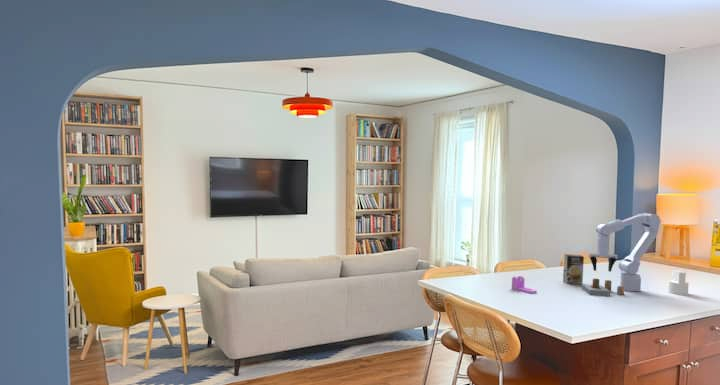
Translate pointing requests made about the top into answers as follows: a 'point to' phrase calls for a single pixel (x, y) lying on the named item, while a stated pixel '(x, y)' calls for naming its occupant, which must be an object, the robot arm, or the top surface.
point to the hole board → (595, 290)
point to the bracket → (521, 285)
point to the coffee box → (573, 269)
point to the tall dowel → (595, 283)
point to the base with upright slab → (678, 283)
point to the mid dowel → (608, 284)
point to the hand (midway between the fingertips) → (602, 270)
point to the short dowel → (620, 290)
